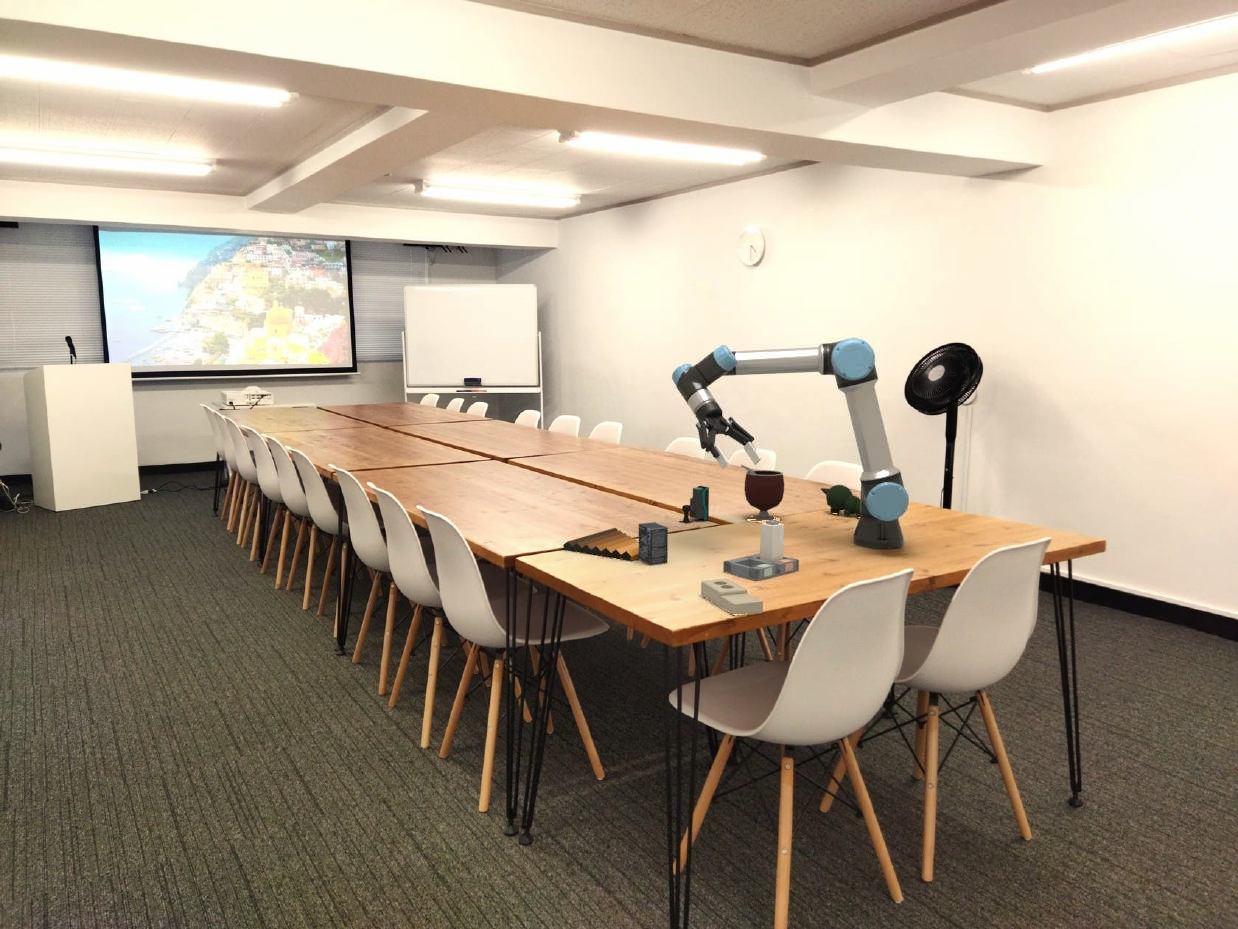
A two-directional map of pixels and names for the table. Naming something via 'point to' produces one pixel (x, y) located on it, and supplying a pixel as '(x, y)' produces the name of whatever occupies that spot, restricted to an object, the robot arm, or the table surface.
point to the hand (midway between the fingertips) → (742, 463)
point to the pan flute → (606, 545)
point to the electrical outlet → (731, 597)
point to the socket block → (760, 567)
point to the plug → (772, 541)
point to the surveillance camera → (697, 505)
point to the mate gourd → (763, 491)
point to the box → (653, 543)
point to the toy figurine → (842, 500)
